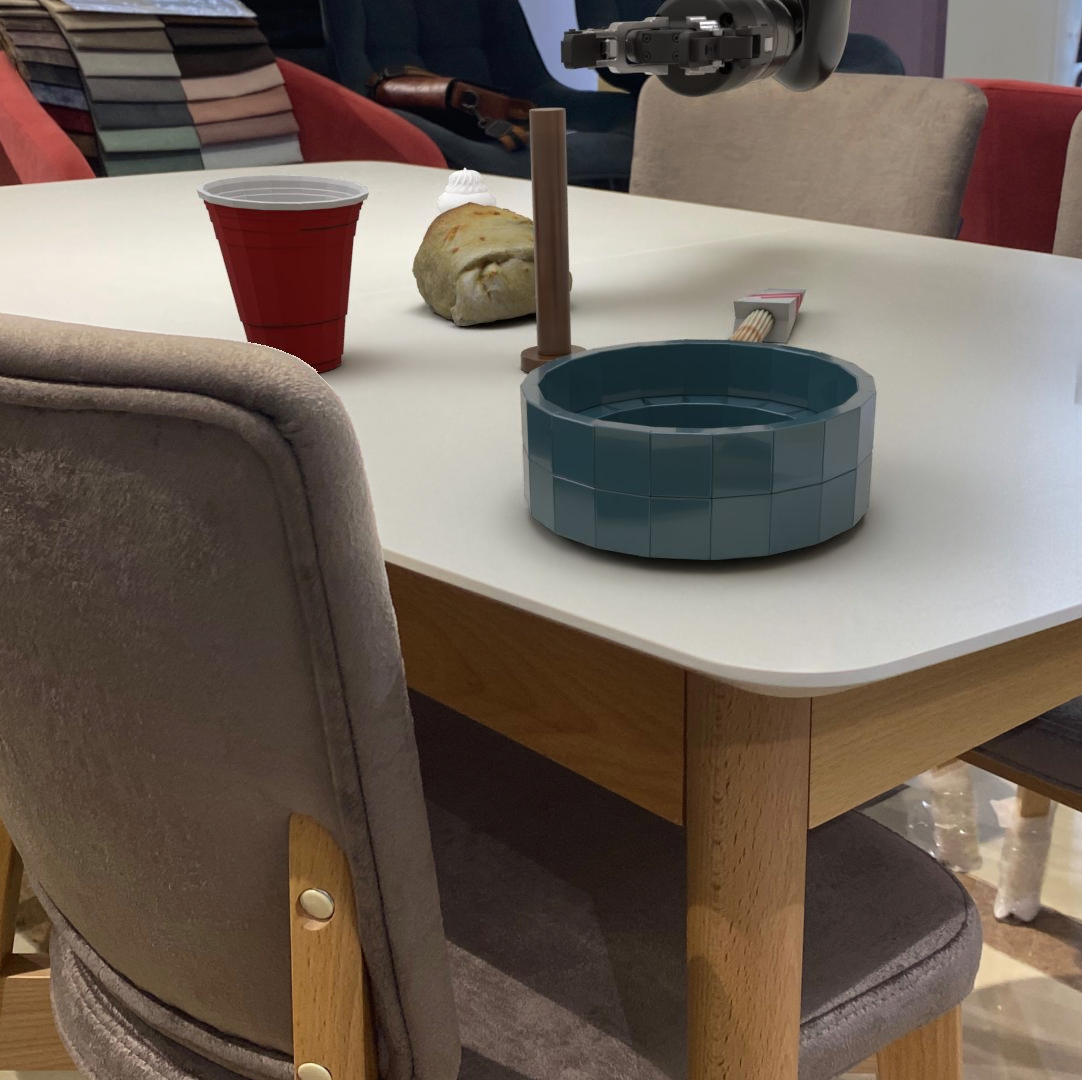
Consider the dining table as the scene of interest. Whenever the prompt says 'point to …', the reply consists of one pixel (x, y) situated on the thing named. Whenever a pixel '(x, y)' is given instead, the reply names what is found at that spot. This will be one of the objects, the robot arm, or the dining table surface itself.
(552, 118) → the stirrer
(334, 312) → the plastic cup
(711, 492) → the bowl
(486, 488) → the dining table surface
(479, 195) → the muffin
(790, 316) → the box of toothpicks
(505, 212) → the pastry
